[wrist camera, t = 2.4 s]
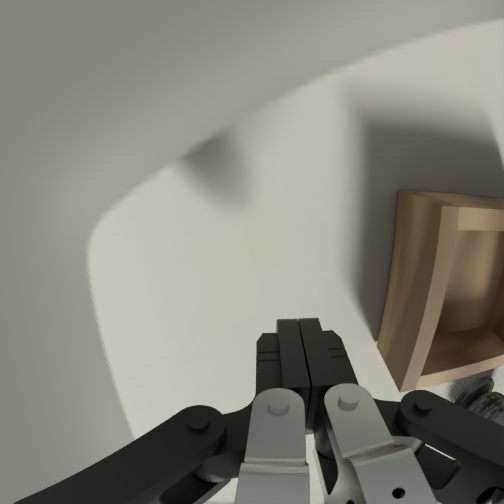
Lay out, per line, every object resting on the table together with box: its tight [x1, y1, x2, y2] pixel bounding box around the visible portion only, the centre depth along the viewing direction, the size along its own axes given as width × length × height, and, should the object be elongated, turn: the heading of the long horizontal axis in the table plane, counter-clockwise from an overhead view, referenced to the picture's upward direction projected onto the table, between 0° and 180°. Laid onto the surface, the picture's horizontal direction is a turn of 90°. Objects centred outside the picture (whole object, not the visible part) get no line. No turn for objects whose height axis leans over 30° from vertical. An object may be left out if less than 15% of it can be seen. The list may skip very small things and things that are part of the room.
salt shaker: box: [455, 378, 504, 426], centre depth 15 cm, size 6×6×12 cm
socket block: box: [377, 190, 504, 392], centre depth 14 cm, size 10×10×4 cm
